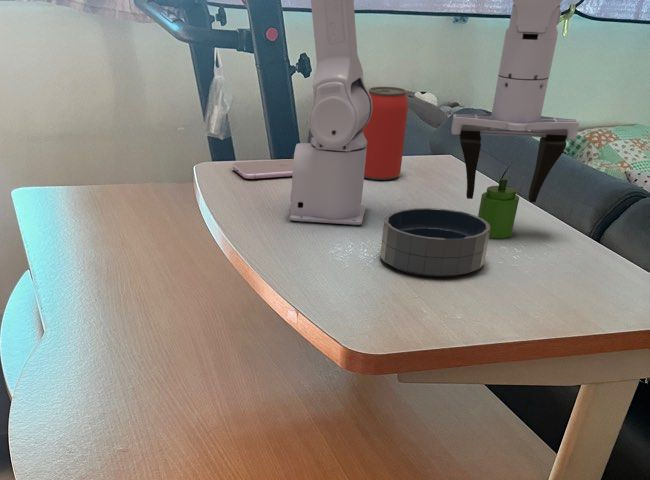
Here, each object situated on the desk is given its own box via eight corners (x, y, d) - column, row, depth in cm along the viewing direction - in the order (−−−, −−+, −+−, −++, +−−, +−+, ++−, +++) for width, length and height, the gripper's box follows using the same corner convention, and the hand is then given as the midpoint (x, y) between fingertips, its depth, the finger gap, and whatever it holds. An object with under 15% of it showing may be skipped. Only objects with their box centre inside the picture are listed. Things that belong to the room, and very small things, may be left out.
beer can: (358, 169, 133) (365, 85, 125) (399, 171, 132) (409, 86, 125) (356, 180, 127) (364, 92, 120) (400, 182, 127) (410, 94, 119)
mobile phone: (230, 161, 131) (318, 155, 135) (230, 168, 132) (317, 162, 135) (245, 173, 125) (336, 167, 129) (245, 180, 126) (336, 173, 130)
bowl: (377, 275, 94) (382, 235, 91) (382, 242, 103) (386, 205, 101) (485, 283, 92) (493, 242, 90) (480, 249, 102) (487, 211, 99)
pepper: (476, 237, 106) (485, 182, 102) (474, 226, 109) (483, 173, 105) (513, 239, 105) (524, 185, 101) (510, 229, 109) (521, 175, 105)
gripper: (460, 79, 94) (442, 203, 102) (593, 84, 92) (564, 210, 100) (459, 70, 100) (441, 188, 108) (584, 74, 98) (556, 195, 106)
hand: (500, 198), depth 104 cm, fingers open, 7 cm apart
